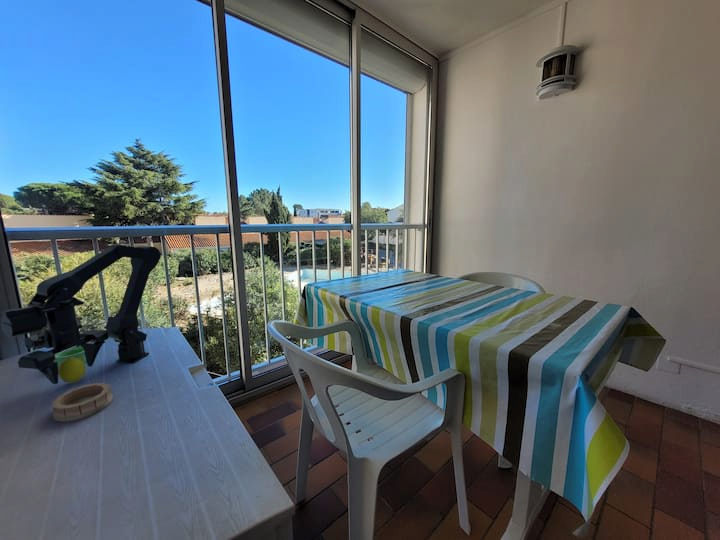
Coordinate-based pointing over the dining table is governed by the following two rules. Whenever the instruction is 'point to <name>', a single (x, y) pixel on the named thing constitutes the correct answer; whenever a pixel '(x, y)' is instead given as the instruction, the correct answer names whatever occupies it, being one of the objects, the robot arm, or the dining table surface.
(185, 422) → the dining table surface
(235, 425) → the dining table surface
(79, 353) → the ramekin
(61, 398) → the wooden bowl
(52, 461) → the dining table surface
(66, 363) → the lemon
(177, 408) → the dining table surface
